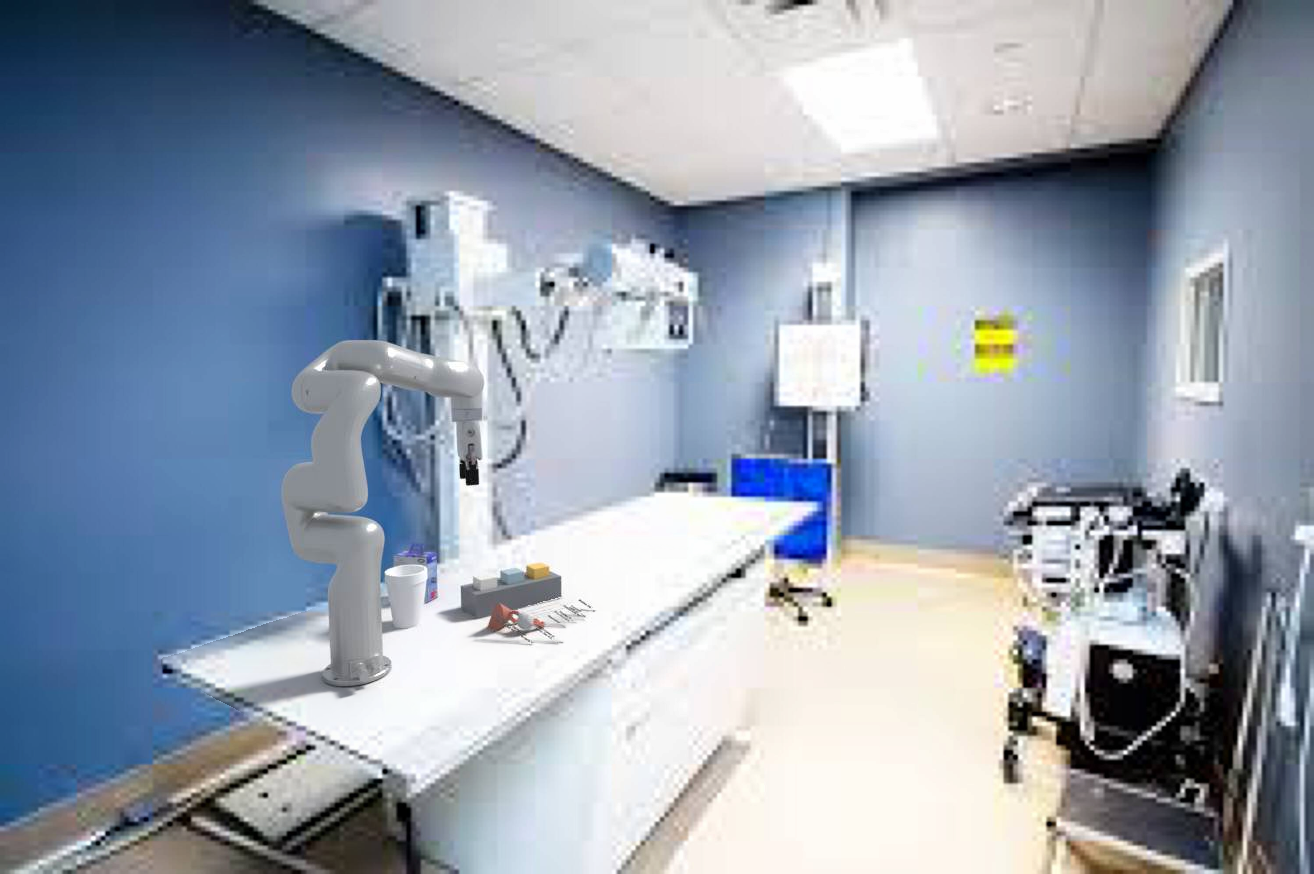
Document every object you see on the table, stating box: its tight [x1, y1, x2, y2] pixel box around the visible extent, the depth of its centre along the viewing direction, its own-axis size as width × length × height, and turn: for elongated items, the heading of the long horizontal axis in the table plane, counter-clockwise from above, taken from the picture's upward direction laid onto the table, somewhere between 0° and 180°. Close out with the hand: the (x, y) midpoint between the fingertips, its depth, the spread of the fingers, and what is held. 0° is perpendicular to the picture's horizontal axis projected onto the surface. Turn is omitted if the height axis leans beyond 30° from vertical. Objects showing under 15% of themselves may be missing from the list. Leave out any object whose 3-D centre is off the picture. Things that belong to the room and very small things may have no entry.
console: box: [460, 570, 562, 620], centre depth 175 cm, size 9×24×6 cm, turn 130°
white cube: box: [472, 572, 498, 591], centre depth 170 cm, size 4×4×4 cm
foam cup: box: [384, 565, 428, 630], centre depth 160 cm, size 10×9×13 cm
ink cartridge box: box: [393, 542, 438, 604], centre depth 178 cm, size 10×6×14 cm, turn 78°
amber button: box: [525, 562, 550, 579], centre depth 179 cm, size 4×4×4 cm
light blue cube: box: [499, 567, 525, 585], centre depth 175 cm, size 4×4×4 cm
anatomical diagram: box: [486, 599, 592, 643], centre depth 162 cm, size 20×9×25 cm
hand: (469, 481), depth 174 cm, fingers open, 9 cm apart
